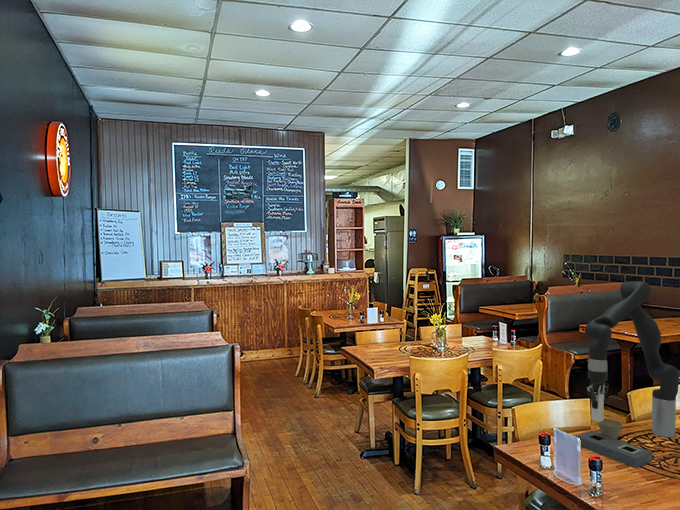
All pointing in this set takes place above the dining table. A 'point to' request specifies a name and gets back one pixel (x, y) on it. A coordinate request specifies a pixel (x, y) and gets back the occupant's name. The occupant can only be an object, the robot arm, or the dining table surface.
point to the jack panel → (615, 449)
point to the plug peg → (598, 409)
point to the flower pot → (610, 427)
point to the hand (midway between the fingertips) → (597, 407)
